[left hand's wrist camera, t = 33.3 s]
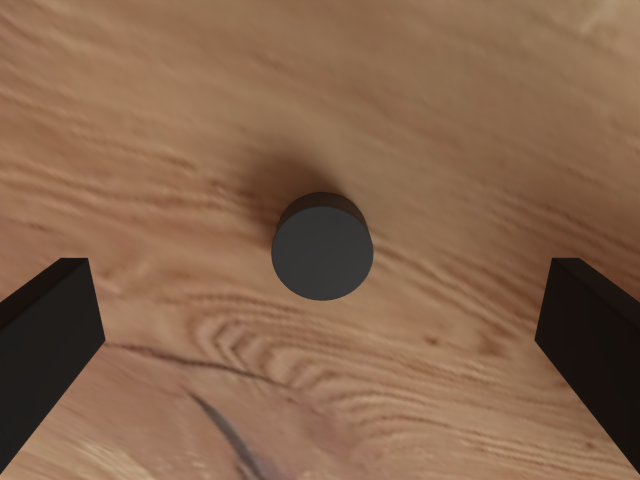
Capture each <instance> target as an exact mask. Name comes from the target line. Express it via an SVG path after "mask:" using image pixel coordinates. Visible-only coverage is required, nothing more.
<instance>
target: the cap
mask: <svg viewBox="0 0 640 480" xmlns="http://www.w3.org/2000/svg"><path fill="white" fill-rule="evenodd" d="M271 255H272V263H273V266H274V269H275V272H276V274H277V276H278V277H279V279H280V280H281V281H282V283H283V284H284V285H285V286H286V287H287V288H289V289H290V290H291V291H293V292H294V293H296V294H298V295H300V296H302V297H305V298H307V299H312V300H319V301H324V300H333V299H337V298H340V297H343V296H345V295H347V294H349V293H351V292H352V291H354V290H355V289H356V288H357V287H359V286H360V285H361V283H362V282H363V281H364V280H365V278H366V277H367V275H368V273H369V271H370V269H371V266H372V262H373V244H372V241H371V237H370V234H369V231H368V227H367V224H366V221H365V219H364V217H363V215H362V213H361V212H360V210H359V209H358V208H357V207H356V206H355V205H354V204H353V203H352V202H351V201H349V200H348V199H346V198H344V197H342V196H340V195H337V194H333V193H326V192H318V193H312V194H308V195H305V196H303V197H301V198H299V199H297V200H296V201H294V202H293V203H292V204H291V205H290V206H289V207H288V208H287V209H286V210H285V211H284V213H283V215H282V216H281V218H280V221H279V224H278V227H277V230H276V233H275V236H274V240H273V244H272V251H271Z"/></svg>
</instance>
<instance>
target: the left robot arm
mask: <svg viewBox="0 0 640 480" xmlns="http://www.w3.org/2000/svg"><path fill="white" fill-rule="evenodd" d="M104 342H105V335H104V331H103V326H102V321H101V317H100V312H99V307H98V303H97V298H96V293H95V289H94V284H93V279H92V275H91V270H90V266H89V261H88V258H60V259H59V260H57V261H56V262H55V263H53V264H52V265H50V266H49V267H48V268H46V269H45V270H44V271H42V272H41V273H40V274H38V275H37V276H36V277H34V278H33V279H31V280H30V281H29V282H27V283H26V284H25V285H23V286H22V287H21V288H19V289H18V290H17V291H15V292H14V293H12V294H11V295H10V296H8V297H7V298H6V299H4V300H3V301H2V302H0V474H1V473H2V472H3V471H4V469H5V468H6V467H7V465H8V464H9V463H10V462H11V460H12V459H13V458H14V456H15V455H16V454H17V453H18V451H19V450H20V449H21V448H22V446H23V445H24V444H25V442H26V441H27V440H28V439H29V437H30V436H31V435H32V434H33V432H34V431H35V430H36V428H37V427H38V426H39V425H40V423H41V422H42V421H43V419H44V418H45V417H46V416H47V414H48V413H49V412H50V411H51V409H52V408H53V407H54V405H55V404H56V403H57V402H58V400H59V399H60V398H61V396H62V395H63V394H64V393H65V391H66V390H67V389H68V388H69V386H70V385H71V384H72V382H73V381H74V380H75V379H76V377H77V376H78V375H79V374H80V372H81V371H82V370H83V368H84V367H85V366H86V365H87V363H88V362H89V361H90V359H91V358H92V357H93V356H94V354H95V353H96V352H97V351H98V349H99V348H100V347H101V345H102V344H103V343H104ZM535 342H536V343H537V344H538V345H539V347H540V348H541V349H542V351H543V352H544V353H545V354H546V356H547V357H548V358H549V359H550V361H551V362H552V363H553V365H554V366H555V367H556V368H557V370H558V371H559V372H560V374H561V375H562V376H563V377H564V379H565V380H566V381H567V382H568V384H569V385H570V386H571V388H572V389H573V390H574V391H575V393H576V394H577V395H578V397H579V398H580V399H581V400H582V402H583V403H584V404H585V405H586V407H587V408H588V409H589V411H590V412H591V413H592V414H593V416H594V417H595V418H596V419H597V421H598V422H599V423H600V425H601V426H602V427H603V428H604V430H605V431H606V432H607V434H608V435H609V436H610V437H611V439H612V440H613V441H614V442H615V444H616V445H617V446H618V448H619V449H620V450H621V451H622V453H623V454H624V455H625V456H626V458H627V459H628V460H629V462H630V463H631V464H632V465H633V467H634V468H635V469H636V471H637V472H638V473H639V474H640V302H638V301H637V300H636V299H634V298H633V297H632V296H630V295H629V294H628V293H626V292H625V291H623V290H622V289H621V288H619V287H618V286H617V285H615V284H614V283H613V282H611V281H610V280H609V279H607V278H606V277H604V276H603V275H602V274H600V273H599V272H598V271H596V270H595V269H594V268H592V267H591V266H590V265H588V264H587V263H585V262H584V261H583V260H581V259H580V258H552V261H551V266H550V270H549V275H548V279H547V284H546V289H545V293H544V298H543V303H542V307H541V312H540V317H539V321H538V326H537V331H536V335H535Z"/></svg>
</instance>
